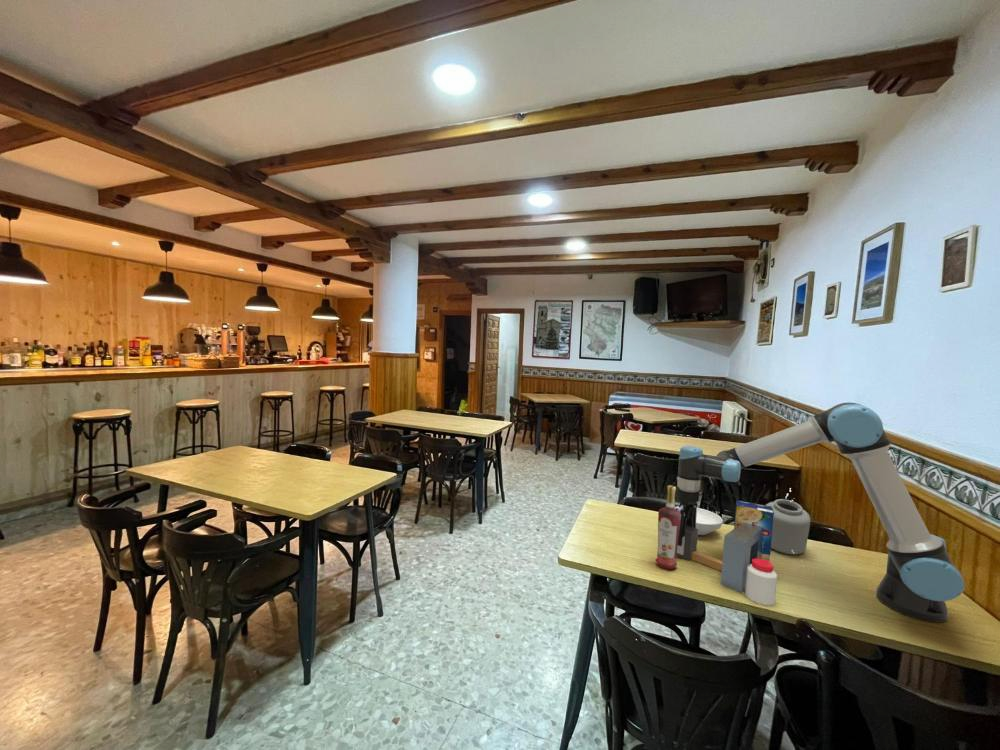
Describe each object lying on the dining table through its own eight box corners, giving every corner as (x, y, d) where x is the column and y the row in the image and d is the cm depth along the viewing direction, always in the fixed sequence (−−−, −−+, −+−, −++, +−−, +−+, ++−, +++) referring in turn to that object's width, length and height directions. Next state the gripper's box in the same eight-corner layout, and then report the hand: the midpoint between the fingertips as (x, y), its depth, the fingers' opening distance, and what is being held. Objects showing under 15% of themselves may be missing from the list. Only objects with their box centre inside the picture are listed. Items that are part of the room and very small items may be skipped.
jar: (814, 566, 145) (820, 497, 144) (766, 556, 151) (772, 490, 149) (799, 544, 162) (804, 483, 161) (756, 536, 168) (761, 477, 167)
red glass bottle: (680, 566, 140) (686, 487, 138) (672, 574, 134) (678, 491, 133) (659, 558, 145) (664, 481, 143) (651, 565, 139) (656, 485, 138)
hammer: (739, 572, 137) (742, 543, 137) (733, 578, 133) (736, 549, 133) (679, 549, 152) (681, 523, 152) (672, 554, 148) (674, 527, 148)
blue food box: (768, 576, 137) (774, 512, 136) (731, 566, 142) (736, 505, 141) (767, 567, 143) (772, 506, 142) (731, 558, 148) (736, 500, 147)
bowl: (731, 543, 160) (732, 525, 160) (682, 540, 161) (683, 523, 160) (706, 522, 180) (707, 507, 180) (662, 520, 180) (663, 504, 180)
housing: (761, 572, 138) (764, 526, 138) (741, 593, 125) (745, 542, 124) (741, 564, 143) (745, 520, 142) (720, 584, 129) (724, 535, 129)
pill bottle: (775, 609, 118) (778, 572, 117) (744, 599, 122) (747, 563, 121) (774, 596, 124) (777, 561, 124) (745, 587, 128) (747, 553, 128)
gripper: (688, 481, 156) (684, 540, 157) (666, 491, 143) (661, 554, 144) (709, 487, 151) (704, 547, 152) (687, 497, 138) (682, 562, 139)
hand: (683, 550), depth 148 cm, fingers closed on hammer, 6 cm apart
